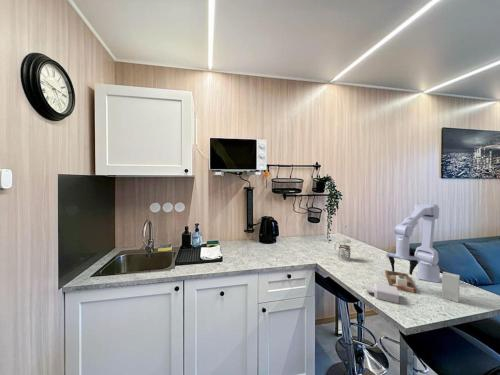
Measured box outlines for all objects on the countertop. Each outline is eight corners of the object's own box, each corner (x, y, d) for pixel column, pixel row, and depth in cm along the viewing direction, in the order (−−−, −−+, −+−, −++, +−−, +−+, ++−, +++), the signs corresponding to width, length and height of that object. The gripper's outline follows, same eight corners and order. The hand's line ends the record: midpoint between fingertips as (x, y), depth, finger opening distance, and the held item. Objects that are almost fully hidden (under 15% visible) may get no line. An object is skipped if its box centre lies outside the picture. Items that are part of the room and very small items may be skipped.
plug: (404, 285, 115) (405, 275, 115) (406, 289, 110) (407, 278, 110) (395, 284, 117) (396, 273, 116) (397, 288, 112) (397, 277, 112)
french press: (353, 262, 147) (354, 226, 147) (335, 260, 150) (336, 225, 149) (349, 257, 157) (350, 224, 156) (333, 256, 159) (334, 223, 159)
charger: (361, 288, 112) (395, 295, 105) (362, 296, 104) (399, 304, 97) (362, 279, 112) (396, 285, 105) (362, 286, 104) (399, 294, 97)
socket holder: (407, 277, 126) (407, 273, 125) (416, 293, 107) (416, 289, 107) (385, 273, 130) (385, 270, 130) (390, 288, 112) (390, 284, 112)
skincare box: (459, 299, 101) (460, 274, 101) (458, 303, 98) (460, 277, 98) (442, 294, 106) (443, 270, 106) (441, 298, 103) (442, 273, 103)
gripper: (387, 247, 112) (386, 272, 113) (421, 251, 106) (420, 278, 106) (385, 243, 119) (385, 267, 119) (418, 247, 112) (417, 273, 113)
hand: (401, 272), depth 113 cm, fingers open, 7 cm apart
